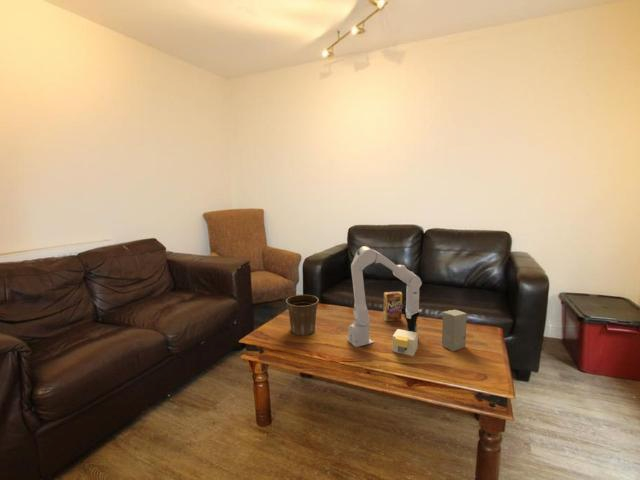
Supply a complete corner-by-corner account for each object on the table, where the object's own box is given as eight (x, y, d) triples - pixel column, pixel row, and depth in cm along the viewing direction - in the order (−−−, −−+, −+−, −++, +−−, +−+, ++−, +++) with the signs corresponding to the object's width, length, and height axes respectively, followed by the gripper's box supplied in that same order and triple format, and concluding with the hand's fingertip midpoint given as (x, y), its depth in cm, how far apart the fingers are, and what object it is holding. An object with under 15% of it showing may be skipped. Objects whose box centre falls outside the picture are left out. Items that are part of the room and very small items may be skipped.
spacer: (406, 348, 131) (407, 341, 131) (394, 345, 133) (395, 338, 133) (408, 344, 134) (409, 337, 134) (397, 341, 136) (397, 335, 136)
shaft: (405, 355, 132) (405, 342, 131) (395, 352, 134) (396, 340, 133) (416, 334, 150) (416, 323, 149) (408, 333, 152) (408, 322, 151)
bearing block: (413, 356, 134) (413, 340, 133) (392, 351, 138) (392, 336, 137) (417, 347, 141) (418, 332, 140) (397, 343, 145) (397, 328, 144)
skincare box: (453, 352, 137) (455, 316, 134) (440, 345, 143) (441, 311, 140) (466, 347, 140) (468, 313, 138) (453, 340, 147) (454, 307, 144)
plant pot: (322, 335, 154) (322, 303, 152) (289, 339, 151) (288, 307, 148) (315, 322, 170) (314, 293, 168) (285, 325, 166) (284, 296, 164)
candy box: (385, 321, 169) (386, 294, 167) (383, 318, 173) (383, 291, 171) (401, 320, 170) (402, 293, 168) (398, 317, 174) (399, 290, 172)
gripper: (418, 306, 139) (417, 335, 141) (424, 296, 151) (423, 323, 153) (401, 303, 142) (401, 332, 144) (409, 294, 155) (408, 321, 157)
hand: (411, 327), depth 149 cm, fingers closed on shaft, 3 cm apart
